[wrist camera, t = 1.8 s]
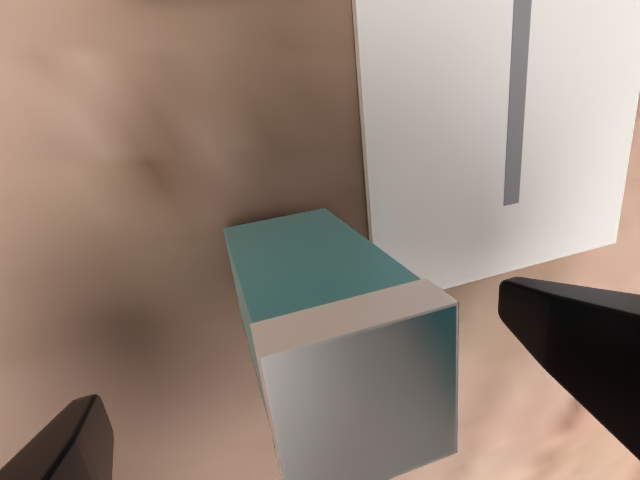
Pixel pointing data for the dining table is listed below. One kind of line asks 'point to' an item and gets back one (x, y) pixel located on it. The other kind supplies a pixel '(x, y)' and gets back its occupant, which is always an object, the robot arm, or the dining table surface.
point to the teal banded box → (345, 349)
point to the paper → (494, 129)
